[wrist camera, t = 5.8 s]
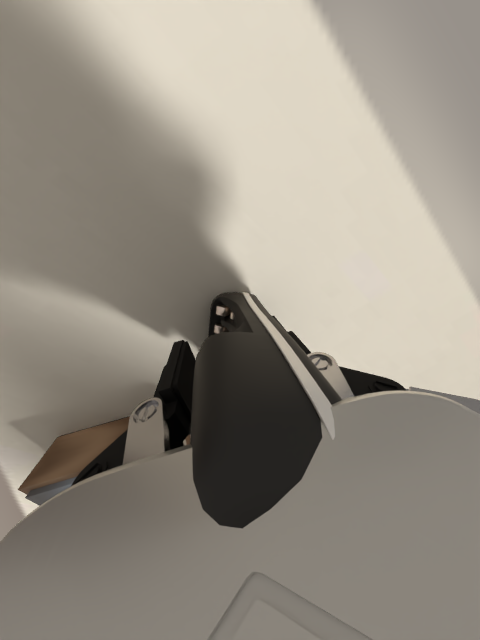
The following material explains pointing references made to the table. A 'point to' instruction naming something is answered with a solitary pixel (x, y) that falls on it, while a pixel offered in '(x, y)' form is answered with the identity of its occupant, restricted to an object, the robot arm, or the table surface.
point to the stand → (70, 459)
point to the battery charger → (253, 412)
